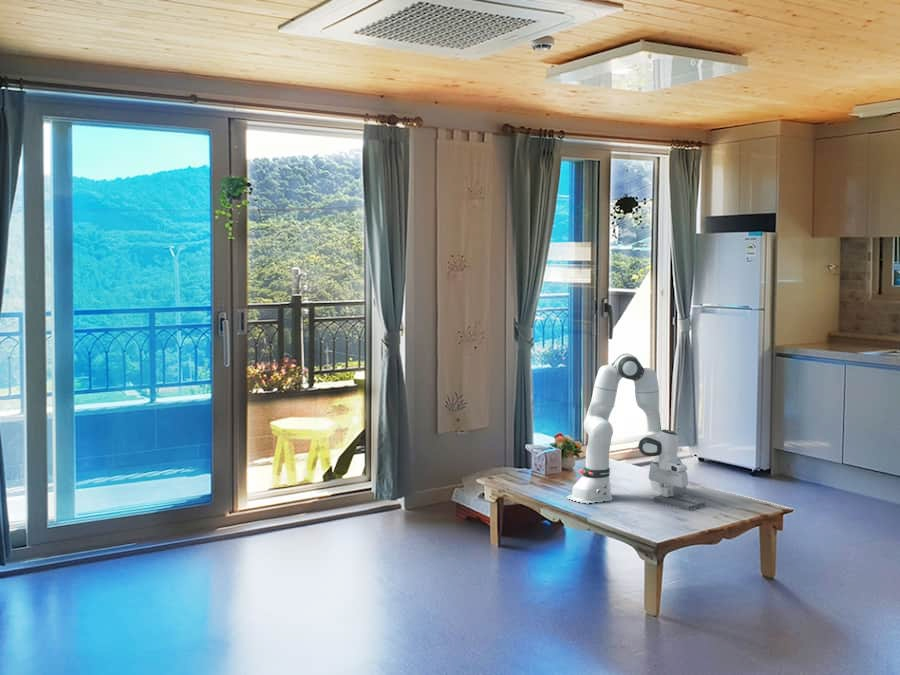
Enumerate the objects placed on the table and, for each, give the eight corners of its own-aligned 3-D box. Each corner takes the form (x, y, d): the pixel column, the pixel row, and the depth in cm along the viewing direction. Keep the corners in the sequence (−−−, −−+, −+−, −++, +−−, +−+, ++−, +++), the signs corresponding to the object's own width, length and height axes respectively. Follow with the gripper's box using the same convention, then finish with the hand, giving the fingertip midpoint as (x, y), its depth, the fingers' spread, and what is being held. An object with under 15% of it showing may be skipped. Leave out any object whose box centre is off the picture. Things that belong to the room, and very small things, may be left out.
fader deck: (688, 510, 394) (688, 506, 394) (653, 501, 410) (653, 496, 410) (704, 506, 402) (704, 501, 402) (669, 496, 417) (669, 492, 417)
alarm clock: (686, 498, 415) (687, 458, 414) (672, 500, 413) (673, 459, 411) (662, 487, 436) (662, 449, 434) (649, 489, 433) (649, 450, 431)
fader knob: (666, 499, 408) (666, 488, 408) (661, 498, 410) (661, 487, 410) (673, 497, 411) (673, 486, 411) (668, 496, 414) (668, 485, 413)
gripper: (646, 461, 416) (645, 489, 417) (681, 469, 400) (680, 498, 401) (654, 459, 419) (654, 487, 421) (690, 467, 403) (689, 496, 405)
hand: (667, 493), depth 411 cm, fingers closed on fader knob, 3 cm apart
